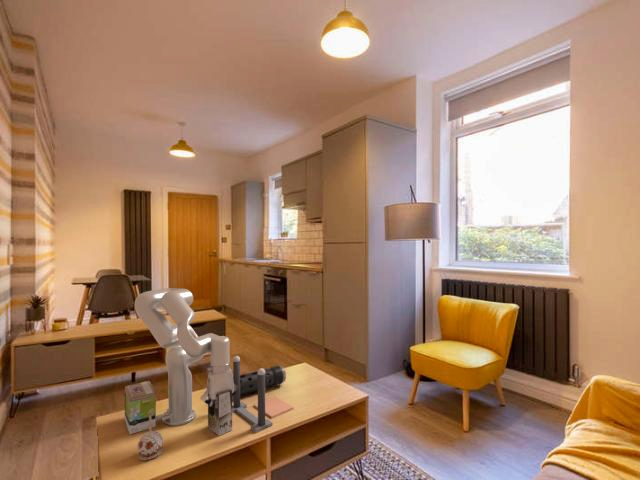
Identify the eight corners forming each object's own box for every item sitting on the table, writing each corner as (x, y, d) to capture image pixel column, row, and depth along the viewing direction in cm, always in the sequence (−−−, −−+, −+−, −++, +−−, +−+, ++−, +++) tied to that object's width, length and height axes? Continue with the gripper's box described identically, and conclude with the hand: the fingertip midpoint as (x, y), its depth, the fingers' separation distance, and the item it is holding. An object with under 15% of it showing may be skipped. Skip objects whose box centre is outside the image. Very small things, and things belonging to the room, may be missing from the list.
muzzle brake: (228, 394, 167) (228, 374, 167) (278, 381, 182) (278, 362, 183) (235, 402, 159) (235, 380, 159) (286, 387, 175) (286, 367, 175)
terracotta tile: (271, 418, 143) (271, 416, 143) (253, 406, 154) (253, 404, 154) (293, 408, 151) (293, 407, 152) (274, 397, 163) (274, 396, 163)
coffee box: (232, 429, 135) (233, 390, 135) (218, 436, 130) (218, 395, 130) (221, 421, 141) (221, 383, 141) (207, 427, 136) (207, 388, 137)
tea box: (156, 426, 138) (156, 391, 138) (129, 435, 132) (129, 398, 132) (149, 412, 150) (149, 379, 150) (124, 419, 144) (123, 385, 144)
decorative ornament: (133, 460, 116) (132, 417, 116) (147, 447, 124) (147, 406, 124) (153, 462, 115) (152, 419, 115) (166, 448, 123) (166, 408, 123)
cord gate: (255, 433, 132) (255, 372, 133) (226, 410, 151) (226, 357, 151) (272, 425, 138) (272, 367, 138) (242, 404, 156) (242, 353, 156)
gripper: (203, 376, 127) (203, 422, 127) (243, 364, 139) (243, 407, 139) (195, 370, 133) (195, 415, 133) (234, 360, 144) (234, 401, 144)
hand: (220, 411), depth 136 cm, fingers closed on coffee box, 6 cm apart
